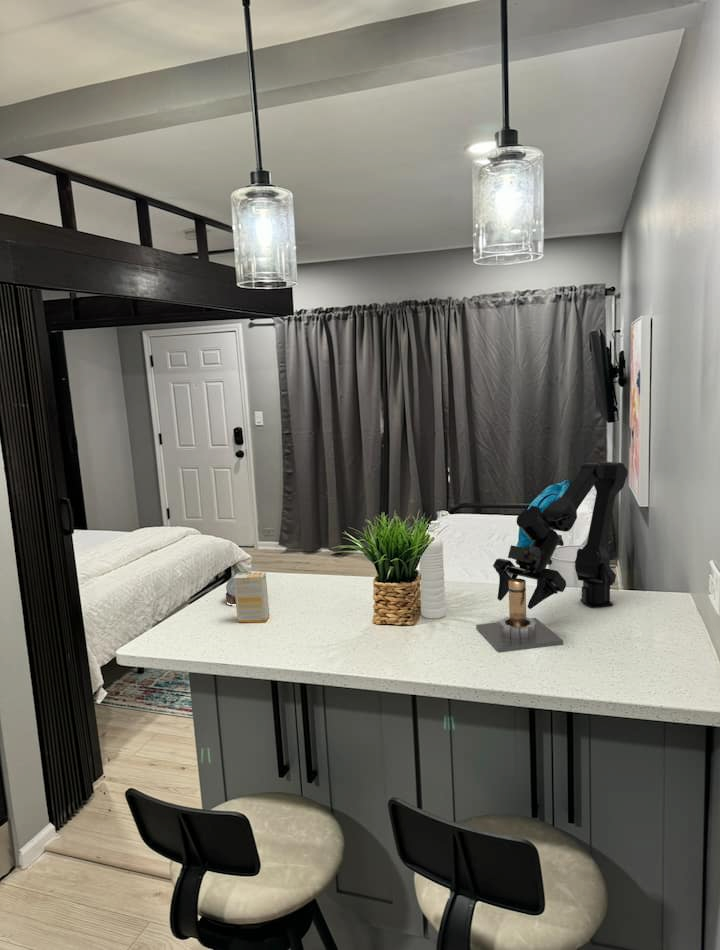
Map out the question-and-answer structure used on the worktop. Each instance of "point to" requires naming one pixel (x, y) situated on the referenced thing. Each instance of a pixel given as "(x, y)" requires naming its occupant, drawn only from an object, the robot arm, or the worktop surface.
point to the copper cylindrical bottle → (517, 602)
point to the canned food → (232, 589)
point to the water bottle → (433, 577)
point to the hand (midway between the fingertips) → (513, 603)
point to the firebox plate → (518, 643)
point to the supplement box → (251, 597)
